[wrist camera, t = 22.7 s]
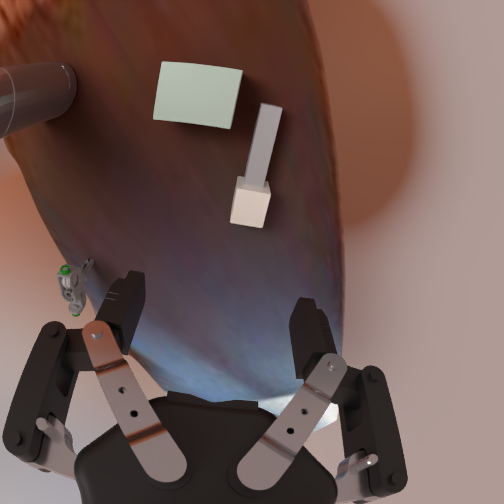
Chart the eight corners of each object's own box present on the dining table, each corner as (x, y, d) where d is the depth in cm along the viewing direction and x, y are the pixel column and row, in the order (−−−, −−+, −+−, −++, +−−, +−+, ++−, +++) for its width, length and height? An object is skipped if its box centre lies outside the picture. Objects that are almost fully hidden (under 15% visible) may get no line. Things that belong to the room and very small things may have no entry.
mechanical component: (87, 280, 49) (67, 315, 41) (81, 236, 44) (54, 270, 36) (100, 283, 50) (80, 319, 42) (94, 239, 44) (69, 274, 36)
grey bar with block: (253, 100, 33) (254, 103, 29) (286, 107, 34) (292, 111, 30) (230, 214, 43) (228, 230, 39) (258, 219, 43) (260, 235, 39)
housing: (175, 64, 30) (162, 61, 25) (243, 72, 31) (242, 70, 26) (167, 113, 34) (153, 119, 28) (232, 121, 35) (229, 129, 30)
